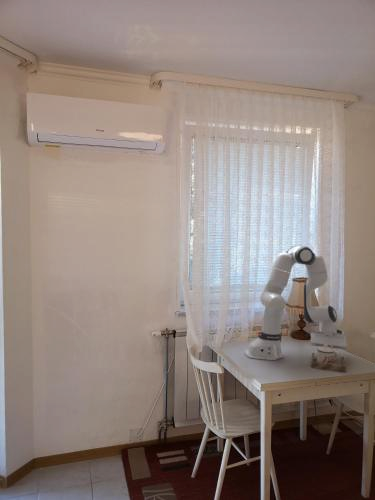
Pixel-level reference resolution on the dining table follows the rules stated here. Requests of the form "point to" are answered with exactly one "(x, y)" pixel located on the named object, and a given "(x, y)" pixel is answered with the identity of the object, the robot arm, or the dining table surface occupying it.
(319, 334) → the robot arm
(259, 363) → the dining table surface
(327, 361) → the teacup with lid
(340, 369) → the walnut tea frame
